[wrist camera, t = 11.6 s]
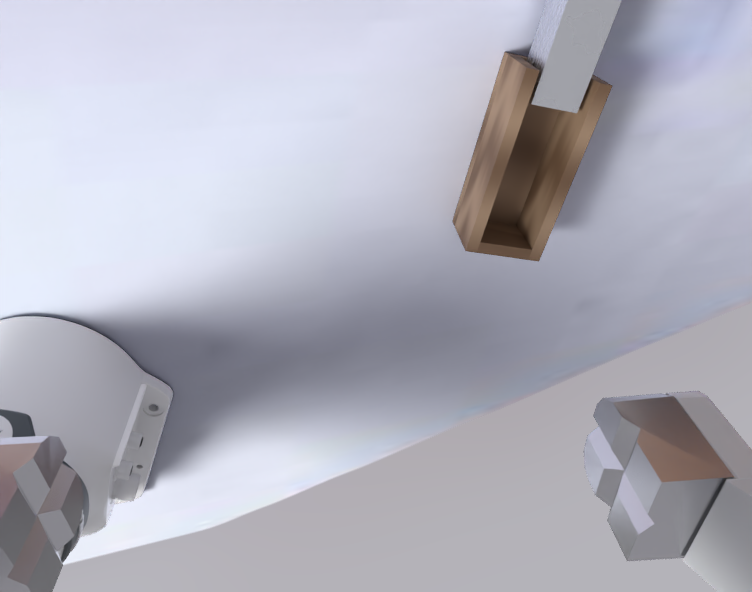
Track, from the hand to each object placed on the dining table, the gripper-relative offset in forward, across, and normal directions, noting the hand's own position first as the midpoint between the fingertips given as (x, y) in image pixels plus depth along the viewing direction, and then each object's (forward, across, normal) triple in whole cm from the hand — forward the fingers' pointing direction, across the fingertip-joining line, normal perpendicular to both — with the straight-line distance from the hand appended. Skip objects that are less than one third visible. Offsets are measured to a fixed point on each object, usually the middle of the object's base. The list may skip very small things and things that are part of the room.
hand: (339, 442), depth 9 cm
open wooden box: (+31, -13, +7) cm, 34 cm away
